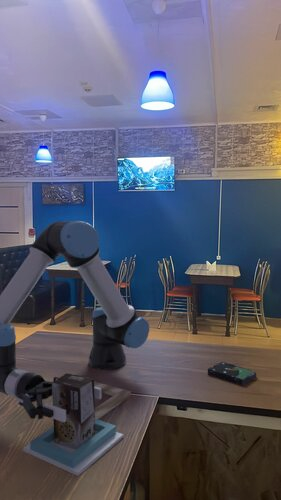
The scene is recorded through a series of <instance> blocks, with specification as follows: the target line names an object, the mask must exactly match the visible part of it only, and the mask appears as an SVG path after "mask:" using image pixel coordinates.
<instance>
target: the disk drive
mask: <svg viewBox="0 0 281 500" xmlns="http://www.w3.org/2000/svg"><path fill="white" fill-rule="evenodd" d="M207 375H209V376H212V377H215V378H218V379H220V380H224V381H227V382H230V383H233V384H235V385H239V386H242V387H243V386H245V385H246V384H248V383H250V382H251V381H252V380H255V379H256V378H257V373H256V371H255V370H252V369H249V368H245V367H241V366H237V365H235V364H231V363H227V362H223V361H221V362H219V363H217V364H215V365H213V366H212V367H208V368H207Z"/></svg>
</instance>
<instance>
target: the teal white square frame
mask: <svg viewBox="0 0 281 500" xmlns="http://www.w3.org/2000/svg"><path fill="white" fill-rule="evenodd" d="M123 438H124V434H123V433H121V432H117V425H115V424H112V423H109V422H106V421H103V420H100V419H95V436H93V437H92V438H91V439H89V440H88V441H87V442H86V443H84V444H83V445H82V446H80V447H79V448H78V449H73V448H70V447H67V446H64V445H60V444H57V443H54V426H53V427H51V428H49V429H47V430H45V432H43V433H41V434H39V436H36V437H35V438H33V439H31V440H30V441H29V443H28V444H27V445H25V446H24V447H23V448H22V449H23V452H25V453H27V454H29V455H31V456H34V457H36V458H37V459H39V460H43V461H45V462H46V463H48V464H51V465H53V466H56V467H58V468H60V469H62V470H65V472H68V473H71V474H73V475H75V476H77V477H79V476H80V475H81V474H82V473H84V472H85V471H86V470H88V469H89V467H91V466H92V465H93V464H94V463H95V462H96V461H97V460H99V459H100V458H102V456H103V455H104V454H105V453H107V452H108V451H109V450H111V449H112V448H113V447H114V446H115V445H116V444H118V443H119V441H121V440H122V439H123Z"/></svg>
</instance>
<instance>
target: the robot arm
mask: <svg viewBox="0 0 281 500" xmlns="http://www.w3.org/2000/svg"><path fill="white" fill-rule="evenodd" d="M99 241H100V237H99V234H98V232H97V230H96V229H95V227H94V226H93V225H92V224H90V223H88V222H86V221H81V220H71V221H70V220H69V221H62V220H61V221H60V220H58V221H55V222H52V223H50V224H49V225H48V226H46V227H45V228H44V229H43V230H42V231H41V233H39V235H37V237H36V239H35V240H34V241H33V243H32V244H31V246H30V247H29V254H28V255H27V257H26V258H25V259H24V261H23V262H22V264H21V265H20V266H19V268H18V269H17V270H16V272H15V274H14V275H13V277H12V278H11V279H10V281H9V283H8V284H7V285H6V287H5V288H4V290H3V291H2V292H1V294H0V393H2V394H5V395H7V396H11V397H13V398H16V399H17V400H18V404H19V406H21V407H22V408H24V410H25V412H26V413H27V415H28V417H29V418H30V419H31V420H33V419H36V417H37V419H38V420H42V419H43V418H44V417H46V418H51V419H52V420H53V419H56V420H58V421H61V422H66V410H64V409H61V408H58V407H56V406H53V405H50V404H49V403H47V402H45V404H44V403H43V401H44V400H47V399H48V398H50V397H53V395H52V382H53V381H55V380H57V379H58V378H59V377H56V376H54V377H53V380H52V381H49V380H48V381H46V380H45V379H44V378H43V376H42V375H41V374H38V373H35V372H31V371H28V370H24V369H20V368H17V358H16V350H17V349H16V340H17V338H16V330H15V326H14V325H13V324H10V322H11V321H12V320H13V319H14V317H15V315H16V314H17V312H18V311H19V310H20V308H21V306H22V304H23V303H24V302H25V300H26V299H27V297H28V296H29V295H30V293H31V292H32V290H33V289H34V288H35V286H36V285H37V283H38V281H39V280H40V278H41V277H42V275H43V274H44V273H45V271H46V270H47V268H48V267H49V266H50V265H53V264H54V262H56V260H57V259H58V258H59V257H60V256H63V257H64V259H65V260H66V263H67V264H68V265H69V267H70V268H72V269H76V270H77V271H78V273H79V274H80V276H81V278H82V279H83V282H85V284H86V285H87V287H88V289H89V291H90V292H91V293H92V296H93V297H94V298H95V300H96V302H97V303H98V305H99V307H97V308H94V309H93V311H92V315H91V316H92V317H91V319H92V347H91V350H90V352H89V356H88V365H89V364H90V365H91V366H92V367H91V366H90V365H89V366H90V367H91V368H93V367H95V368H94V369H96V368H100V369H99V370H113V368H115V369H118V367H119V368H121V367H124V366H125V365H124V364H126V363H127V357H126V353H125V350H124V347H123V346H125V347H126V348H131V349H139V348H140V347H142V346H143V345H144V344H145V343H146V342H147V339H148V337H149V333H150V324H149V322H148V320H147V319H146V318H144V317H142V316H140V315H138V313H137V311H136V310H135V308H134V307H133V306H132V305H131V304H127V303H126V300H125V299H124V297H123V295H122V293H121V292H120V290H119V289H118V286H117V285H116V284H115V282H114V280H113V278H112V276H111V275H110V273H109V271H108V270H107V267H106V266H105V264H104V263H103V261H102V260H101V257H100V255H99V254H100V251H101V249H100V247H99V246H100V244H99ZM94 395H95V399H98V400H101V399H102V393H101V388H98V387H94ZM35 402H36V406H35V404H34V403H35Z"/></svg>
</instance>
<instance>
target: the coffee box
mask: <svg viewBox="0 0 281 500" xmlns="http://www.w3.org/2000/svg"><path fill="white" fill-rule="evenodd" d="M52 381H53V380H52ZM52 381H51V382H52ZM94 382H95V378H92V377H87V376H82V375H77V374H72V373H65V374H63V375H61V376H60V377H58V379H57V380H55V381H53V382H52V395H53V396H52V402H53V406H56V407H58V408H61V409H64V410H66V422H61V421H58V420H56V419H53V418H52V420H53V427H54V443H57V444H60V445H64V446H67V447H70V448H73V449H78V448H79V447H80V446H82V445H83V444H84V443H86V442H87V441H88V440H89V439H91V438H92V437H93V436H95V408H96V406H95V403H96V402H95V399H96V398H95V395H94Z"/></svg>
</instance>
